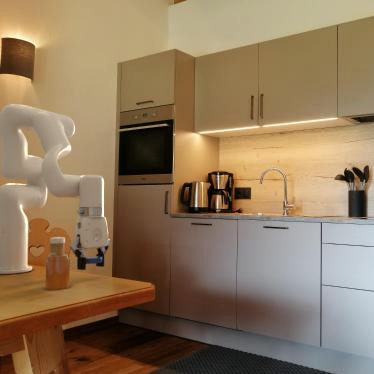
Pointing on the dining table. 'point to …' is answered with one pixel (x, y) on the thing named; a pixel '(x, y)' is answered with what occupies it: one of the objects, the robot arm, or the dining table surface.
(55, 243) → the sprinkles bottle
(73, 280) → the dining table surface
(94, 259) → the lid
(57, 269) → the jar
